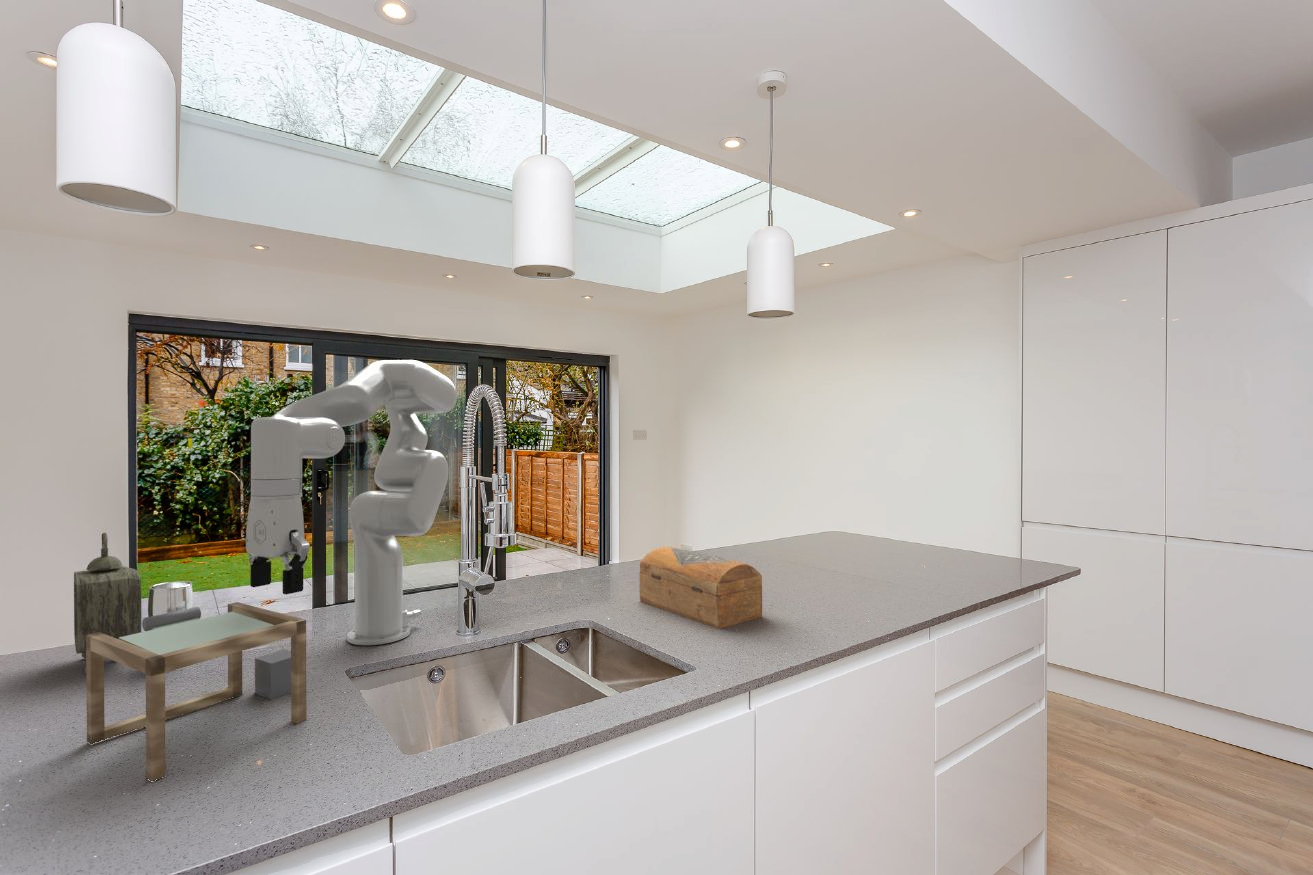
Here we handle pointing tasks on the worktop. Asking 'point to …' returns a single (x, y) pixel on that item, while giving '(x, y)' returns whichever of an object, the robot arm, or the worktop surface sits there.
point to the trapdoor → (189, 630)
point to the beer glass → (170, 597)
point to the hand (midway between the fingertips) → (276, 589)
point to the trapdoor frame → (159, 664)
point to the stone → (273, 674)
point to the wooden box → (701, 586)
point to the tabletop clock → (106, 599)
